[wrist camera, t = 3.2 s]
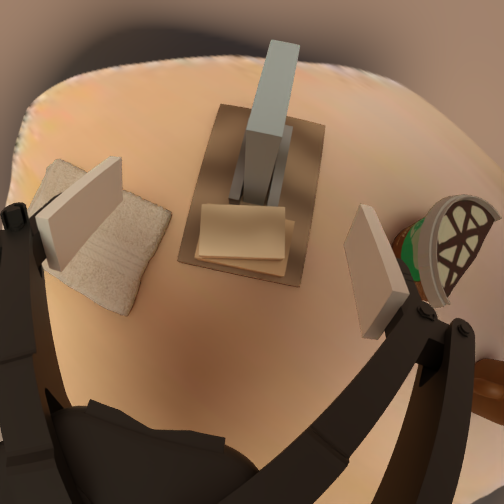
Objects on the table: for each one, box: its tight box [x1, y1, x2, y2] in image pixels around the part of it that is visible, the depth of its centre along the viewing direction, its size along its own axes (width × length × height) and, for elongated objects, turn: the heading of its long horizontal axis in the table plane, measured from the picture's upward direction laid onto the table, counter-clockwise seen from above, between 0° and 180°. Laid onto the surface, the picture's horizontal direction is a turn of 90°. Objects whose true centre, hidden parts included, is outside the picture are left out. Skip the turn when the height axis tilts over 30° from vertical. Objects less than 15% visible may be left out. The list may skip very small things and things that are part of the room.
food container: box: [391, 195, 502, 308], centre depth 26 cm, size 12×6×10 cm, turn 132°
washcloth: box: [27, 159, 172, 316], centre depth 28 cm, size 12×18×3 cm, turn 66°
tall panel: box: [243, 40, 300, 206], centre depth 23 cm, size 8×2×14 cm, turn 168°
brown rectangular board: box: [177, 104, 325, 287], centre depth 29 cm, size 18×12×3 cm, turn 168°
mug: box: [471, 359, 504, 426], centre depth 24 cm, size 12×8×9 cm, turn 67°
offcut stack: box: [195, 203, 295, 278], centre depth 27 cm, size 5×8×5 cm
